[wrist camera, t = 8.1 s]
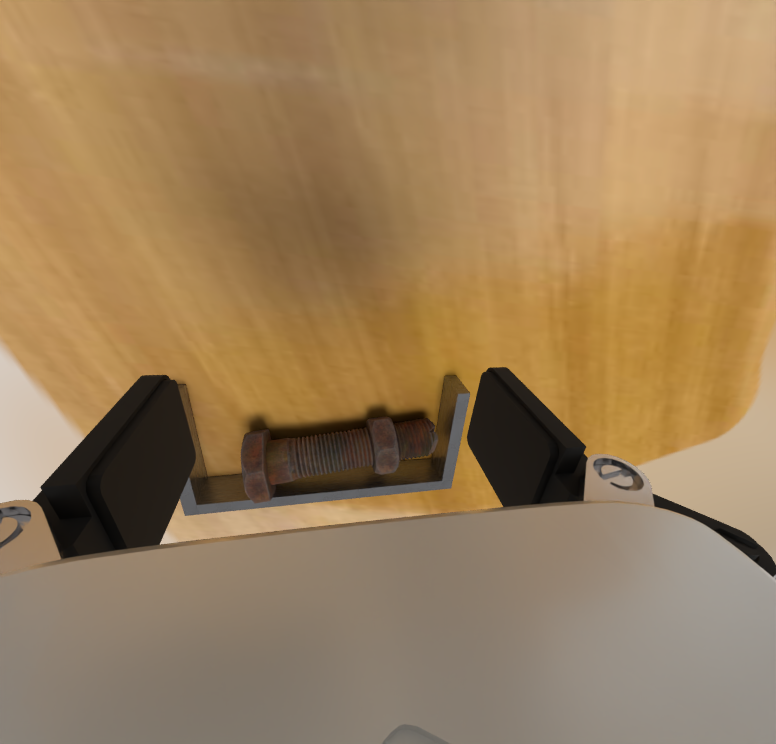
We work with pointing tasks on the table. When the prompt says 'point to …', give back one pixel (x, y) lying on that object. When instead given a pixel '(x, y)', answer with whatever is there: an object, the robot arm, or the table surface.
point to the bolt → (331, 453)
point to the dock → (346, 484)
